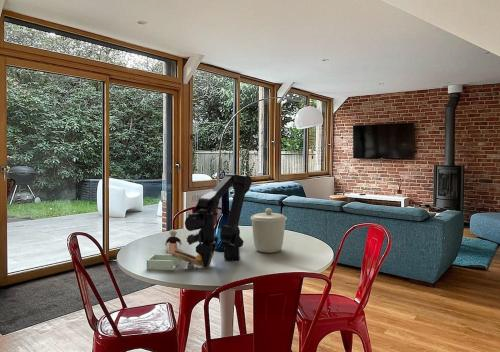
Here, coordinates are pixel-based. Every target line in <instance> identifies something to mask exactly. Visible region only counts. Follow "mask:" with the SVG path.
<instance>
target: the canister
mask: <svg viewBox="0 0 500 352" xmlns="http://www.w3.org/2000/svg"><path fill="white" fill-rule="evenodd" d="M287 219H288V218H287V216H286V215H284V214H283V213H277V212H273V209H272V208H270V207H268V208H265V209H264V212H260V213H259V212H258V213H254V214H253V215H251V216H250V220H251V226H252V227H251V228H252V236H253V242H254V243H253V244H254V247H255V250H256V251H258V252H260V253H265V254H267V253H268V254H270V253H272V254H274V253H277V252H280V251H281V250H282V248H283V244H284V238H285V237H284V236H285V230H286V229H285V228H286V220H287Z"/></svg>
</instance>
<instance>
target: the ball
mask: <svg viewBox="0 0 500 352" xmlns="http://www.w3.org/2000/svg"><path fill="white" fill-rule="evenodd" d="M195 257H196V260H197V261H200V262H202V258H201V255H200V254H198V253H197V254H196V255H195Z"/></svg>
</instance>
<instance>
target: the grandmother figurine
mask: <svg viewBox="0 0 500 352" xmlns="http://www.w3.org/2000/svg"><path fill="white" fill-rule="evenodd" d="M169 234H170V236H169V237H168V238H167V239H165V242H166V243H165V242H164V246H167V245H168V242H170V243H169V245H168V249H169V251H168V255H172V254H173V252H175V250H178V248H177V246H178V244H179V243H180V244H179V245H181V246H182V245H183V243H182V240H181V239H180V238H179V237H177V234H178V232H177V230H176V229H170V230H169ZM178 242H179V243H178Z"/></svg>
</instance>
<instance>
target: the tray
mask: <svg viewBox="0 0 500 352" xmlns="http://www.w3.org/2000/svg"><path fill="white" fill-rule="evenodd" d="M179 261H180V259H178V258H175V257H172V255H169V254H163V253H162V254H160V253H159V254H158V253H157V254H156V253H154V254H153V255H150V257H148V259H146V270H147V271H174V270H175V269H176V268H177V266H178V265H179Z"/></svg>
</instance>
